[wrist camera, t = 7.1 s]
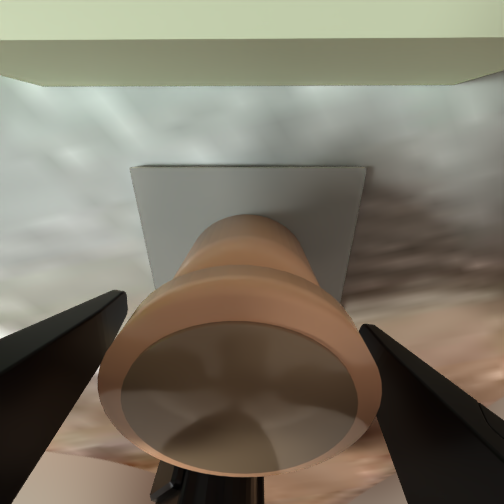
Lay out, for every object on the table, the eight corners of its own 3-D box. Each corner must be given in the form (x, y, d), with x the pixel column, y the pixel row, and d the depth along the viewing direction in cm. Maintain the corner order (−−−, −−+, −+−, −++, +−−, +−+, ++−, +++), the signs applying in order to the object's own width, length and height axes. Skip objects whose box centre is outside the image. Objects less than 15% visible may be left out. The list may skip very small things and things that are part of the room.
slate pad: (329, 336, 14) (332, 343, 14) (169, 335, 15) (166, 342, 14) (361, 166, 10) (367, 168, 10) (135, 166, 10) (129, 167, 10)
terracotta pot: (327, 211, 11) (435, 313, 4) (302, 326, 13) (345, 488, 7) (176, 200, 10) (55, 288, 4) (184, 319, 13) (120, 477, 7)
